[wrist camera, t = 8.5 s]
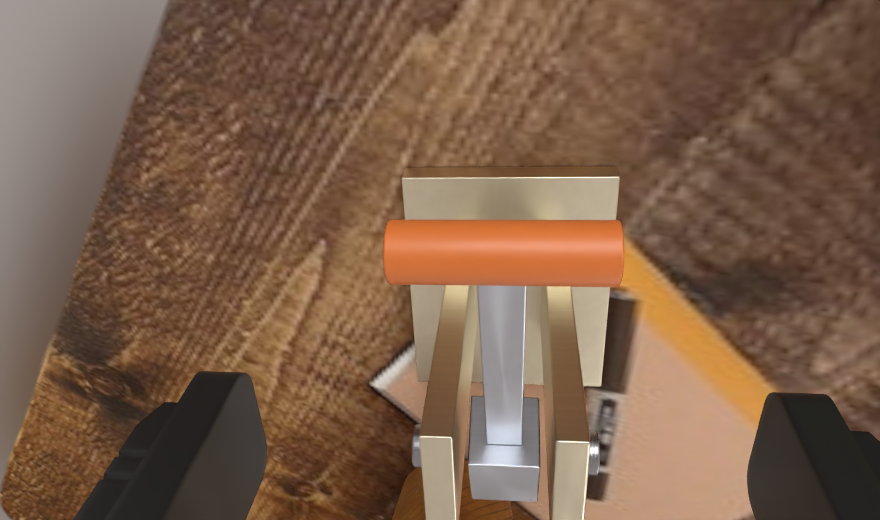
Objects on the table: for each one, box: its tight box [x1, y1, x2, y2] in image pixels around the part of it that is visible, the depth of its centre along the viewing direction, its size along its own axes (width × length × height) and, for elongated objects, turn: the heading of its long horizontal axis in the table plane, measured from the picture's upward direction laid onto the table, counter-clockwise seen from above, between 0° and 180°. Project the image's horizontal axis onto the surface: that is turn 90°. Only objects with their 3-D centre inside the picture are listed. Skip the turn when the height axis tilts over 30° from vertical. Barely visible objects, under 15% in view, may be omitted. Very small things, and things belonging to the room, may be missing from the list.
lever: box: [383, 219, 624, 502], centre depth 19 cm, size 12×5×2 cm, turn 4°
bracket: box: [401, 166, 620, 520], centre depth 27 cm, size 11×9×13 cm
